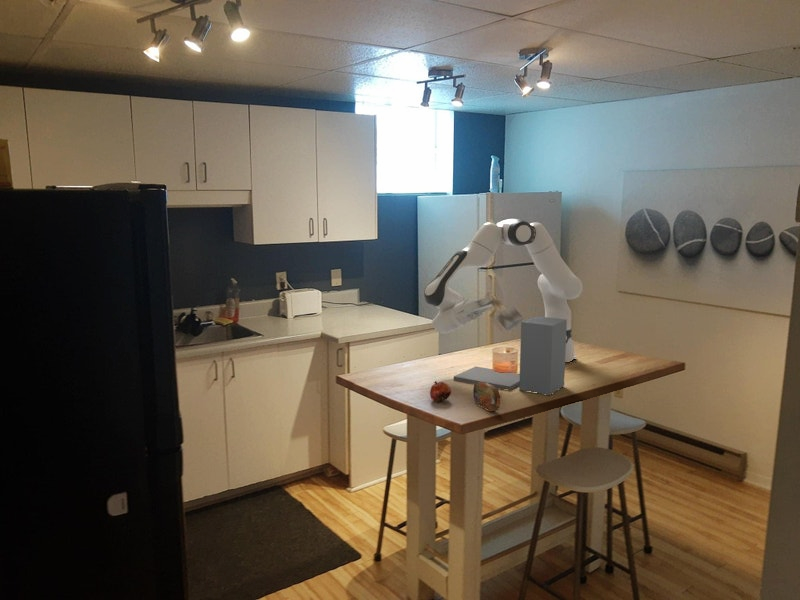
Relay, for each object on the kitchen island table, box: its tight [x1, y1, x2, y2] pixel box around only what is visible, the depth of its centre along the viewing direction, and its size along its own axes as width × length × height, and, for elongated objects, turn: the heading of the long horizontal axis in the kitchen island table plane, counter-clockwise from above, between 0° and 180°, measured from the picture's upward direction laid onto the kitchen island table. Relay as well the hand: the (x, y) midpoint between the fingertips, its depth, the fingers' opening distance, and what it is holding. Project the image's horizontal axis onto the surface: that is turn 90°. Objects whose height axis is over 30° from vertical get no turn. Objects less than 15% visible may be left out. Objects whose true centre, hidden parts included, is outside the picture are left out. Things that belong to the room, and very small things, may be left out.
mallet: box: [484, 291, 525, 331], centre depth 240 cm, size 16×8×5 cm
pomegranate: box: [429, 380, 452, 405], centre depth 219 cm, size 7×7×10 cm
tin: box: [472, 381, 501, 412], centre depth 213 cm, size 15×3×8 cm, turn 21°
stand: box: [518, 315, 567, 396], centre depth 233 cm, size 12×14×26 cm
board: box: [453, 366, 520, 391], centre depth 247 cm, size 24×18×2 cm
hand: (494, 297), depth 241 cm, fingers closed on mallet, 2 cm apart
